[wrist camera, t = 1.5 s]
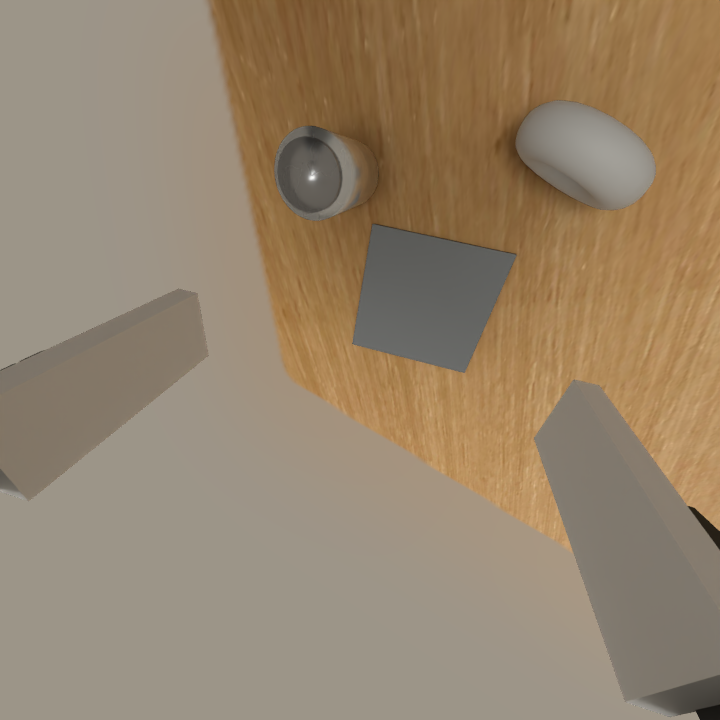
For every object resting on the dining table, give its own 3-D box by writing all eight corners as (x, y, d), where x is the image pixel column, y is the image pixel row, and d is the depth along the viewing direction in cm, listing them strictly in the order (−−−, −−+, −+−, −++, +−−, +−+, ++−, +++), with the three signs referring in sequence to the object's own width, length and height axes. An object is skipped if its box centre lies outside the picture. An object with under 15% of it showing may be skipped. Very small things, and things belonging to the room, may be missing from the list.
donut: (620, 173, 26) (707, 174, 17) (584, 212, 27) (646, 230, 19) (526, 103, 25) (570, 70, 16) (495, 148, 26) (521, 139, 18)
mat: (372, 223, 32) (372, 224, 32) (516, 254, 30) (516, 254, 30) (352, 343, 40) (352, 344, 40) (464, 371, 39) (464, 372, 39)
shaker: (326, 134, 29) (268, 117, 19) (383, 145, 28) (353, 132, 18) (321, 200, 32) (269, 213, 22) (373, 210, 31) (342, 229, 22)
